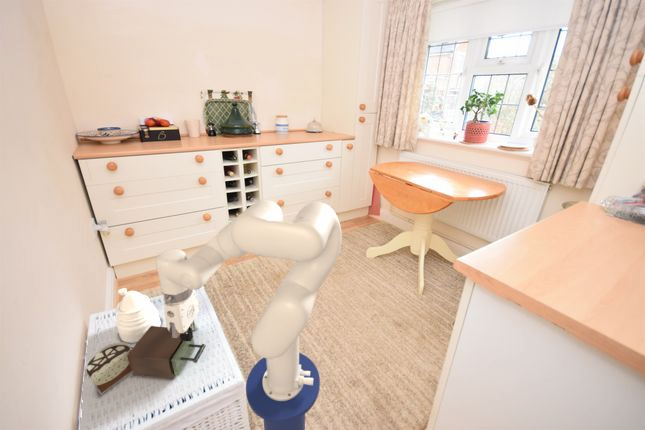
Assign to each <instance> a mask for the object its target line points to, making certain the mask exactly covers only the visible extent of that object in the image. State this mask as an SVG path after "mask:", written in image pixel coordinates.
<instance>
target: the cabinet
mask: <svg viewBox="0 0 645 430" xmlns="http://www.w3.org/2000/svg"><path fill="white" fill-rule="evenodd" d="M180 342H181V339H180V335H179V336H178V337H177V338H172V331H171V332H169V331H168V328H167V326H160V327H158V326H151V327H150V328H149V329H148V330H147V331H146V333H145V334H144V335H143V336H142V337H141V339H140V340H139V341H138V342H136V344H135V345H134V346H132V347H133V348H131V351H130V352H129V353H128V355H127V357H128V360H129V363H130V366H131V369H132V372H131V373H132V374H133V376H138V377H147V378H148V377H149V378H159V379H169V380H174V378H175V377H176V376H175V373H174V370H172V366H171V362H170V358H171V356H172V355H173V353H174V352H175V350H176V349H177V347H178V345H179V344H180Z"/></svg>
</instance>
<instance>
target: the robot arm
mask: <svg viewBox="0 0 645 430" xmlns="http://www.w3.org/2000/svg"><path fill="white" fill-rule="evenodd" d="M342 234H343V231H342V226H341V223H340V219H339V217H338V216H337V214H336V212H335V211H334V209H332V208H331V206H330V205H328V204H327V203H325V202H321V201H313V202H310V203H308V204H306V205H305V206H303V207H302V208H301V209H300V210H299V212H298V213H297V215H296V216H295V217H294V219H293V220H292V222H289V221H284V213H283V211H282V208H281V207H280V206H279V205H278V204H277V203H276V202H275V201H272V200H270V199H262V200H258V201H256V202H253V203H252V204H251V205H250V206H249V207H247V208H246V209H245V210H244V211H242V212H241V213H240V214H239V215H237V216H236V217H235V218H233V219H232V220H231V221H230V222H229V223H228V224H227V225H225V226H224V227H222V229H220V230H219V231H218V233H217V234H216V235H215V236H214V237H213V238H211V239H210V240H209V241H208V242H206V243H205V244H204V245H203V246H202V247H200V248H199V249H198V250H197V251H196V252H194V253H193V254H192V255H191V256H190V257H189V258H188V256H187V253H186V252H185V251H183V250H181V249H176V248H173V249H168V250H165V251H162V252H161V253H159V254H158V255H157V256H156V258H155V266H156V271H157V276H158V280H159V285H160V288H161V289H160V290H161V294H162V298H163V302H164V318H165V323H166V324H165V325H166V327H167V328H168V331H169V332H171V331H172V338H177V337H178V336H179V335H180V339H181V341H189V342H190V341H191V340H192V338H193V339H194V334H193V333H194V332H193V331H192V328H191V327H192V322H193V320H194V321H195V319H196V317H197V315H199V312H200V307H199V301H198V297H197V294H196V290H197V291H198V290H199V289H201V288H202V287H204V286H205V284H206V283H207V282H208V281H209V280H210V279H211V278H212V276H213V275H214V274H215V273H216V272H217V271H218V270H219V268H221V267H222V265H223V264H225V263H226V262H227V261H228V260H230V259H231V258H232V259H241V258H243V257H245V256H246V255H247V254H249V255H254V256H258V257H263V258H272V259H278V260H285V261H293V262H294V263H293V265H292V266H291V268H290V269H289V271H288V273H287V274H286V275H285V276H284V277H283V279H282V281H281V282H280V284H279V285H278V287H277V289H276V290H275V293H274V294H273V296H271V297H270V299H269V300H268V301H267V303H266V305H265V306H264V308H263V310H262V312H261V314H260V316H259V318H258V320H257V322H256V324H255V326H254V328H253V330H252V332H251V335H250V343H251V346H252V349H253V350H254V352H255V353H256V354H257V356H259V357H261V358H266V362H267V370H266V372H265V374H264V376H263V389H264V391H265V393H266V394H267V396H268V397H270V398H271V399H273V400H277V401H286V400H290V399H292V398H294V397H295V396H296V395H297V394H299V392H300V391H301V389H302V387H303V384H307V385H313V378H304V376H310V371H303V370H302V369H301V365H300V364H299V353H300V335H301V333H302V332H303V331H304V329H305V328H306V326H307V324H308V322H309V321H310V317H311V314H312V311H313V309H314V304H315V302H316V298H317V295H318V292H319V291H320V288H321V287H322V286H323V284H324V283H325V281H326V279H327V278H328V276H329V274H330V273H331V272H332V270H333V269H334V266H335V265H336V263H337V260H338V258H339V255H340V252H341V247H342V242H343V235H342Z"/></svg>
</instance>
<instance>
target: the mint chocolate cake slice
mask: <svg viewBox="0 0 645 430" xmlns="http://www.w3.org/2000/svg"><path fill="white" fill-rule="evenodd" d="M133 347H134V346H132V345H131V344H130V343H128V342H114V343H111V344H108V345H106V346H104V347H102V348H100V349H98V350H97V351H95V353H93V354H92V355H91V356H90V357H89V358H88V360H87V361H86V364H85V366H84V377H85V380H86V381H88V378H89V379H90V381H91V383H92V384H93V386H94V387H95V388H96V390H97V392H99V394H100V395H103V394H104V393H105V392H107V391H108V390H110V389H111V388H112V387H114V386H115V385H116V384H118V383H119V382H120V381H122V380H123V379H124V378H126V377H127V376H129V375H130V374H132V373H133V372H132V369H131V366H130V363H129V360H128V357H127V355H128V353H129V352H130V351H131V350H132V348H133Z"/></svg>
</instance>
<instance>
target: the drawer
mask: <svg viewBox="0 0 645 430" xmlns="http://www.w3.org/2000/svg"><path fill="white" fill-rule="evenodd" d="M194 341H195V340H194V337H193V338H192V340H191V341H190V342H189V341H181V342H180V344H179V345H178V347H177V349H176V350H175V352H174V353H173V355H172V356H171V358H170V362H171V366H172V370H174V373H175V376H174V377H179V376H180V374H181V373H182V371H183V370H184V368H185V366H186V364H187V363H188V362H192V363H194V364H197V363H198V362H199V359H200V358H201V356H202V354H203V352H204V350H205V348H206V344H205V343H201V344H195V342H194ZM197 348H199V349H198V350H197V352H196V353H195V355H194V357H191V356H192V354H193V353H194V351H195V349H197Z"/></svg>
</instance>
